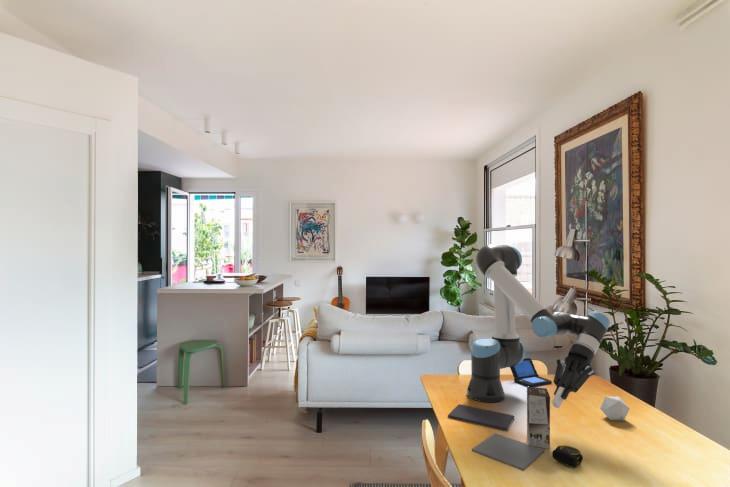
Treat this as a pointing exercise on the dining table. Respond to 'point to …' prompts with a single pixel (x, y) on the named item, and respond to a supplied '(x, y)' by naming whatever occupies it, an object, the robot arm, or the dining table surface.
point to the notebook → (482, 417)
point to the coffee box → (538, 417)
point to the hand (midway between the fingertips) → (555, 405)
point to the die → (614, 408)
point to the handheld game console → (528, 374)
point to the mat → (508, 451)
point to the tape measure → (567, 455)
